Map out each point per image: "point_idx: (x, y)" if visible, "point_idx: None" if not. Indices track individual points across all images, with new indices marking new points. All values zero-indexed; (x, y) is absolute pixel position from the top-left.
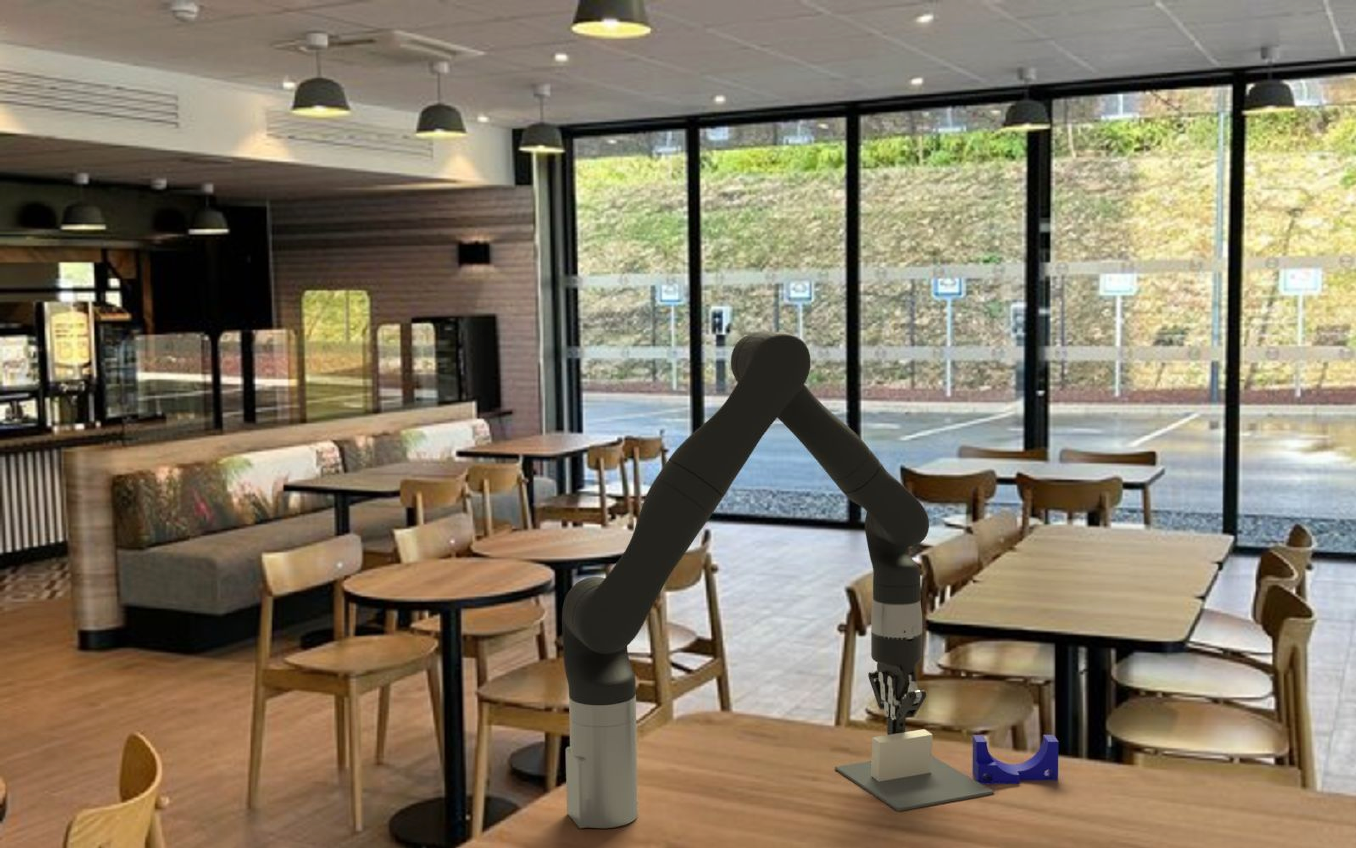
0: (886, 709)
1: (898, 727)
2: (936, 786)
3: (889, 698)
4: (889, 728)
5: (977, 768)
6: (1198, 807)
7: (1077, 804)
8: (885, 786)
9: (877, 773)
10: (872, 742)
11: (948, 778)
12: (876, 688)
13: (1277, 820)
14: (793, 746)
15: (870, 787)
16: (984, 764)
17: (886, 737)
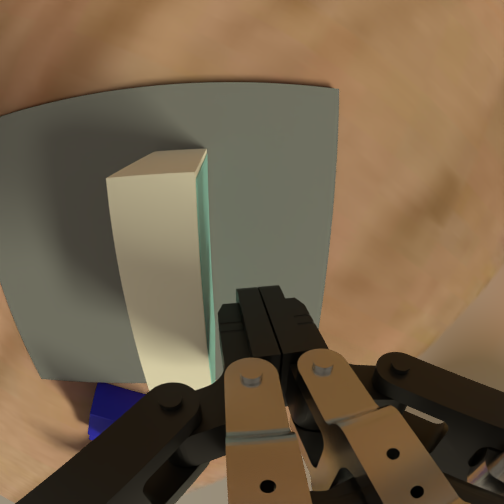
0: (332, 380)
1: (222, 352)
2: (72, 294)
3: (280, 472)
4: (273, 318)
5: (102, 407)
6: (24, 482)
7: (13, 429)
8: (107, 154)
9: (157, 153)
10: (195, 167)
11: (120, 345)
12: (482, 419)
13: (7, 489)
14: (493, 112)
15: (117, 102)
16: (92, 422)
17: (167, 250)
